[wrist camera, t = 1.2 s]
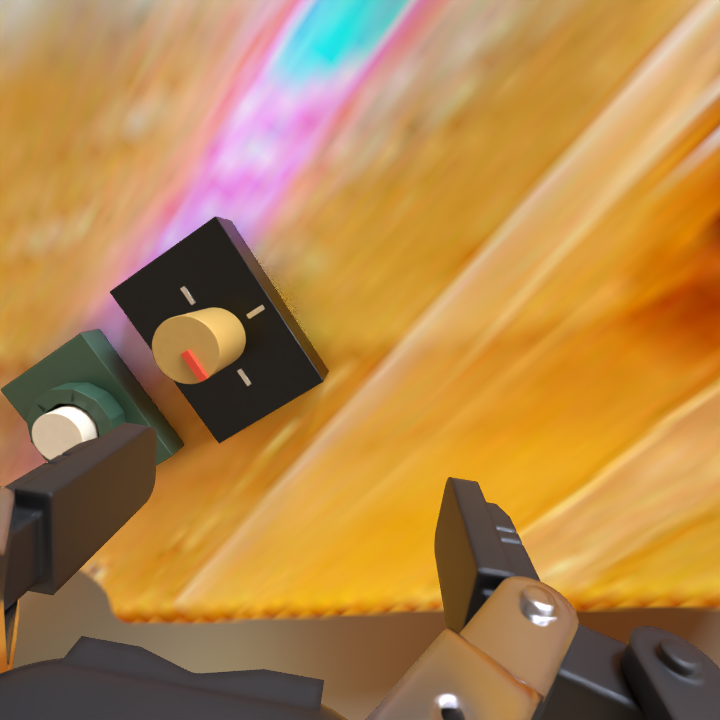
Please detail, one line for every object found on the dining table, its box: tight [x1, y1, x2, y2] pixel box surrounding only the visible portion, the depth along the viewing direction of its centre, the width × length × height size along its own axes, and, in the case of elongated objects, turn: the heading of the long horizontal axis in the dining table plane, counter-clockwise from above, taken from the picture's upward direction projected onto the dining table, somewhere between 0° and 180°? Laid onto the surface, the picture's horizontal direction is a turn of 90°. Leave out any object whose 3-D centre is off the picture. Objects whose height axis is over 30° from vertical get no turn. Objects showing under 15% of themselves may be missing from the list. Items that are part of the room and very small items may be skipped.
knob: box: [152, 308, 246, 384], centre depth 29 cm, size 4×4×5 cm
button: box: [32, 406, 98, 460], centre depth 32 cm, size 4×4×2 cm
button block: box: [1, 329, 184, 465], centre depth 35 cm, size 12×9×4 cm
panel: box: [110, 217, 329, 443], centre depth 33 cm, size 14×10×3 cm
